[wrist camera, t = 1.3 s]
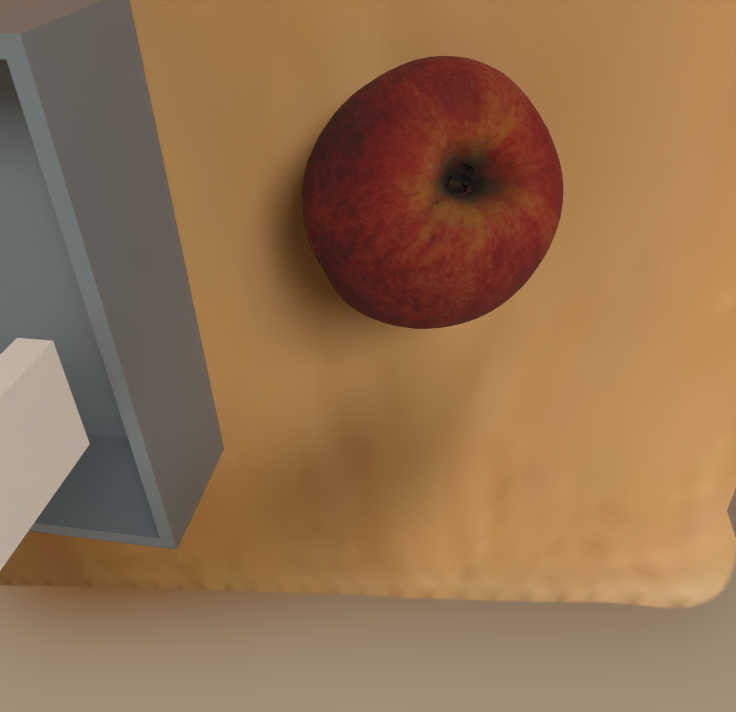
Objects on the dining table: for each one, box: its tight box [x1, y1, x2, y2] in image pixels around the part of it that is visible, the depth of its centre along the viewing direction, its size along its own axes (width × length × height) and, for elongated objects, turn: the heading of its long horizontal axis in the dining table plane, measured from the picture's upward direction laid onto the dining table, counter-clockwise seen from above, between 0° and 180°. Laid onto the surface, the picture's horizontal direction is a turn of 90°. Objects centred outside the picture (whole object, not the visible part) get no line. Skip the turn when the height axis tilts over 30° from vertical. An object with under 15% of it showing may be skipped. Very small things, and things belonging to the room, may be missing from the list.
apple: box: [303, 56, 563, 329], centre depth 20 cm, size 7×8×8 cm
